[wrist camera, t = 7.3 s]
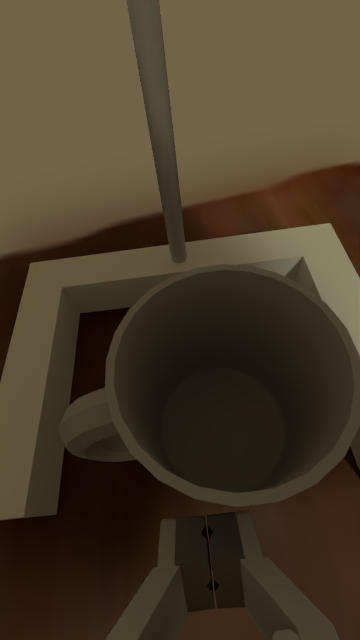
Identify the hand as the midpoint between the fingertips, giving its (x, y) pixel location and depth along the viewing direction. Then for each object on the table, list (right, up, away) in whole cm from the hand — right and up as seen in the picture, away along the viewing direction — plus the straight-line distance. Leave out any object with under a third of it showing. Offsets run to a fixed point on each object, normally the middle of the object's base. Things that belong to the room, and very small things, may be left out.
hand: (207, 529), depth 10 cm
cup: (0, +1, +6) cm, 6 cm away
